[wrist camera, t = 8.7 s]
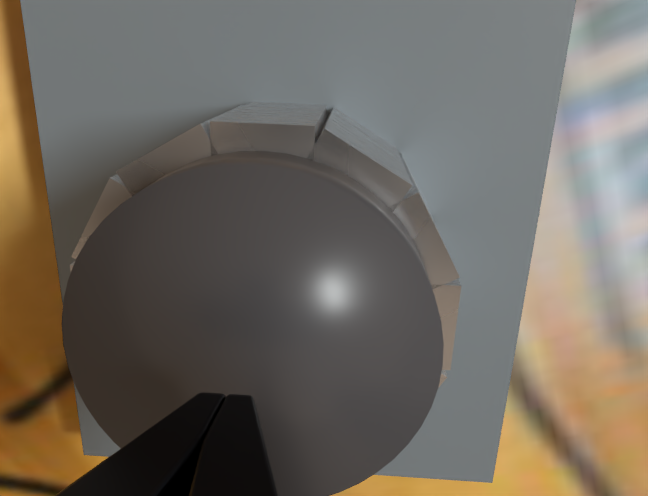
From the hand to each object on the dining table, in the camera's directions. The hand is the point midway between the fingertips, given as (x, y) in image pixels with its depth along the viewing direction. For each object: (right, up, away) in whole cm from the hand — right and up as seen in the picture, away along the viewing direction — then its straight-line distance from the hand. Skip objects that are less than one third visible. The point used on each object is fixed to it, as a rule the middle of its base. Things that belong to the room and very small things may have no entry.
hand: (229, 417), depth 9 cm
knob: (0, +2, +6) cm, 7 cm away
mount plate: (0, +3, +9) cm, 9 cm away
